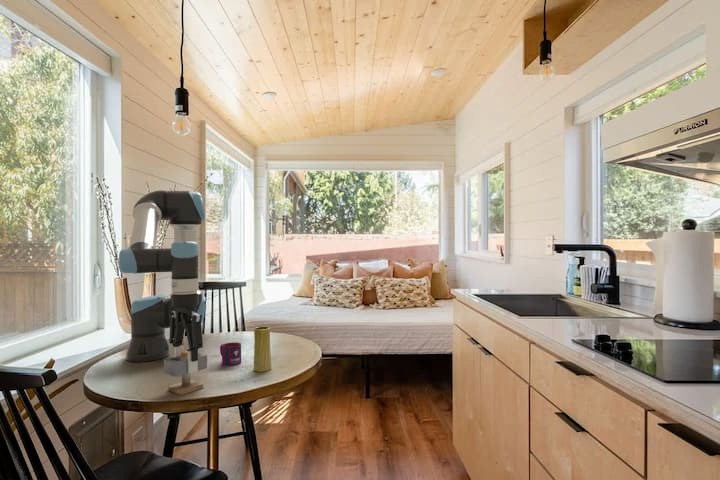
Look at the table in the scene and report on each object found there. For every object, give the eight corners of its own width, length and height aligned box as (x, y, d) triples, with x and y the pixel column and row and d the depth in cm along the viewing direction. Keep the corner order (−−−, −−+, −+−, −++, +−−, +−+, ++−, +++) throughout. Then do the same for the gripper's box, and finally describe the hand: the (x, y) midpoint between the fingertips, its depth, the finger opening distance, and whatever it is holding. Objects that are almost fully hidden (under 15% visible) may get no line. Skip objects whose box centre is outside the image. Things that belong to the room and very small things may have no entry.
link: (163, 373, 121) (163, 359, 122) (194, 365, 130) (194, 352, 130) (175, 377, 118) (175, 362, 118) (207, 368, 126) (207, 355, 126)
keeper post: (168, 390, 123) (168, 353, 123) (190, 383, 129) (189, 348, 129) (181, 394, 119) (181, 356, 119) (203, 387, 124) (203, 351, 125)
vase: (250, 369, 142) (249, 328, 142) (265, 365, 147) (265, 325, 147) (259, 373, 138) (258, 330, 138) (275, 369, 142) (274, 327, 142)
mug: (227, 367, 146) (227, 347, 146) (214, 361, 153) (214, 343, 153) (244, 363, 150) (244, 344, 150) (231, 358, 157) (230, 340, 157)
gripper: (156, 292, 127) (156, 367, 126) (192, 296, 115) (192, 379, 115) (179, 290, 133) (179, 362, 132) (215, 293, 121) (216, 372, 121)
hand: (185, 369), depth 124 cm, fingers closed on link, 6 cm apart
